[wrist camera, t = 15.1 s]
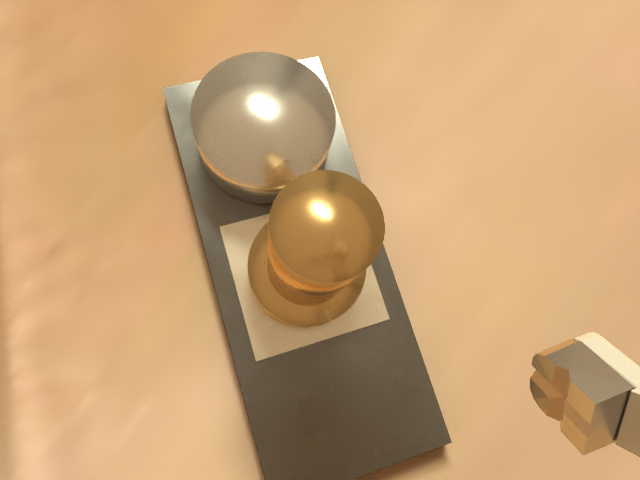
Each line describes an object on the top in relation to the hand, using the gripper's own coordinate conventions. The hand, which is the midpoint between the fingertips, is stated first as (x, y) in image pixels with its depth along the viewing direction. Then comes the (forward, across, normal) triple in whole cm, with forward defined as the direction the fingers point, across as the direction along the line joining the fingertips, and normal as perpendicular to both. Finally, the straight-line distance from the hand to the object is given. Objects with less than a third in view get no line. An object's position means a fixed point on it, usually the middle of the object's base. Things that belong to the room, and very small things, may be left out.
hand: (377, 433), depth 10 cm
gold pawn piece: (+13, -1, +5) cm, 14 cm away
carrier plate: (+14, -1, +5) cm, 15 cm away
